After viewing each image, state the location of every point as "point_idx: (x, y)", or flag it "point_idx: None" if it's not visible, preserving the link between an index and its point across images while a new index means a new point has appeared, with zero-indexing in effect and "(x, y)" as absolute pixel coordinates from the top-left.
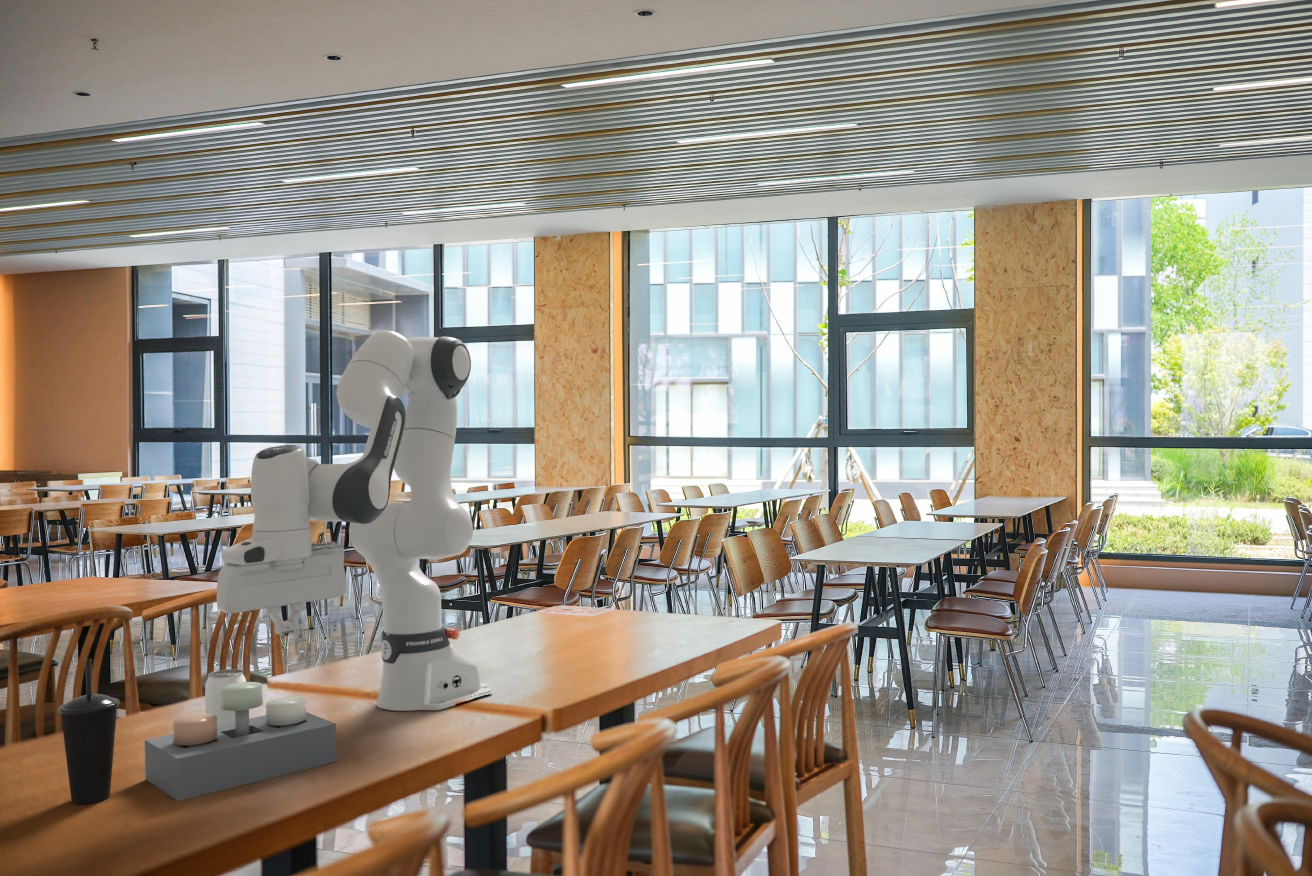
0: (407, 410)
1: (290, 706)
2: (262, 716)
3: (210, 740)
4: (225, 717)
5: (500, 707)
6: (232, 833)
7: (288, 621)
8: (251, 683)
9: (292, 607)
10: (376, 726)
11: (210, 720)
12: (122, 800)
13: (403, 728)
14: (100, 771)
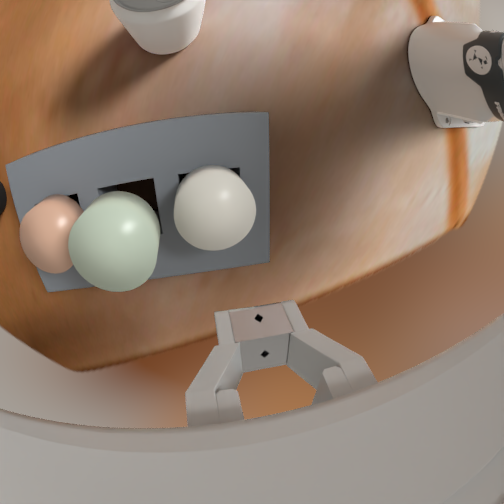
0: None
1: (211, 249)
2: (191, 121)
3: None
4: (147, 42)
5: (462, 171)
6: (114, 358)
7: (277, 354)
8: (135, 236)
9: (317, 402)
10: (370, 117)
11: (68, 266)
12: (17, 223)
13: (383, 156)
14: None
